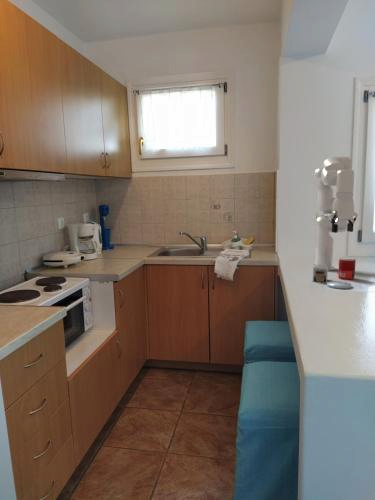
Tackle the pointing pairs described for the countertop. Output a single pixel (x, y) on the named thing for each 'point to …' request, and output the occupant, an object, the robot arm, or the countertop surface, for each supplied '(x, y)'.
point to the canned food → (346, 268)
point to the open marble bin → (320, 270)
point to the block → (319, 276)
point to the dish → (339, 285)
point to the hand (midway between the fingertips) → (342, 232)
